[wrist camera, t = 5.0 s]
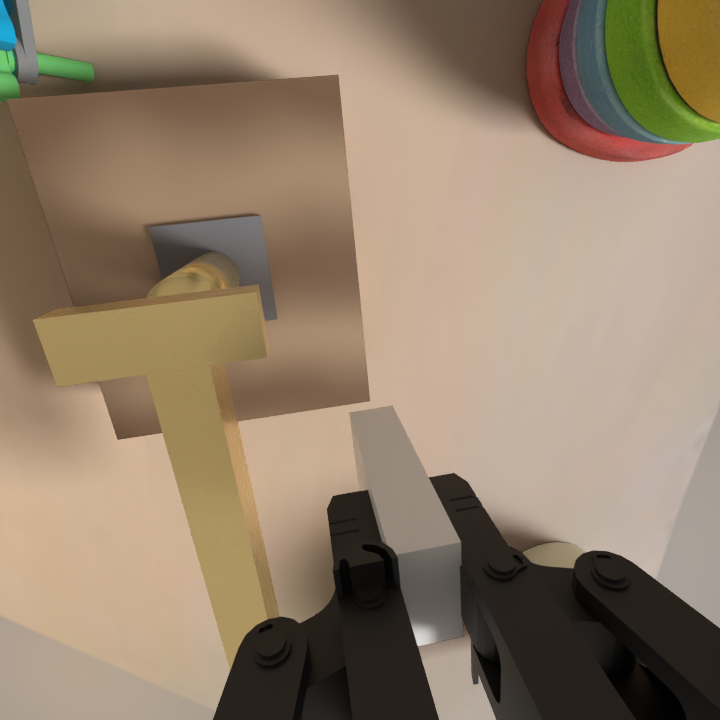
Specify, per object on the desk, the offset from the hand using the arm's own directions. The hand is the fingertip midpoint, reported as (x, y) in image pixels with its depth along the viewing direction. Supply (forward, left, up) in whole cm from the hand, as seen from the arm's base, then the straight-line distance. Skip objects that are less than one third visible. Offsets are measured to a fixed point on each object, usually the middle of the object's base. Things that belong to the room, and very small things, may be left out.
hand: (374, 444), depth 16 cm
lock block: (-6, -5, -11) cm, 14 cm away
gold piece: (+1, -5, -6) cm, 8 cm away
